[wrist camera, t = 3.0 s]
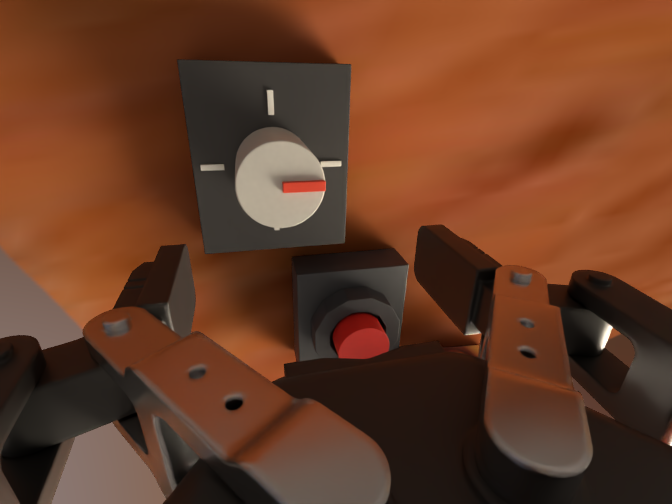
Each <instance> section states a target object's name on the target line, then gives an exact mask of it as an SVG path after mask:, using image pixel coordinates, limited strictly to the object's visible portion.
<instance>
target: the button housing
mask: <svg viewBox="0 0 672 504" xmlns="http://www.w3.org/2000/svg"><path fill="white" fill-rule="evenodd" d="M408 267H409V265H408V263H407V262H406V261H405V260H404V259H403V258H402V257H401V255H400V254H399V253H398V252H397V251H396V250H395V249H394V248H392V249H380V250H368V251H356V252H344V253H332V254H320V255H307V256H295V257H292V284H293V314H294V344H295V356H296V361H297V362H300V361H306V360H313V359H319V358H339V357H338V354H337V351H336V348H335V345H334V343H333V332H334V329H335V327H336V326H337V324H338V323H339V322H340V321H341V320H342V319H343V318H345V317H347V316H349V315H351V314H354V313H368V314H371V315H373V316H375V317H376V318H377V319H378V321H379V322H380V324H381V326H382V328H383V330H384V331H385V333H386V335H387V337H388V339H389V350H388V351H390V350H393V349H396V348H398V347H399V343H400V334H401V326H402V317H403V309H404V301H405V292H406V284H407V275H408Z"/></svg>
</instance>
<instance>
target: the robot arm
mask: <svg viewBox="0 0 672 504" xmlns="http://www.w3.org/2000/svg"><path fill="white" fill-rule="evenodd" d="M414 272H415V276H416V279H417V281H418V282H419V283H420V285H421V286H422V287H423V288H424V289H425V290H426V291H427V293H428V294H429V295H430V296H431V297H432V298H433V300H434V301H435V302H436V303H437V304H438V305H439V307H440V308H441V309H442V310H443V311H444V312H445V313H446V315H447V316H448V317H449V318H450V319H451V320H452V322H453V323H454V324H455V325H456V326H457V327H458V328H459V330H460V331H461V332H462V333H463V334H464V335H471V334H478V333H482V335H481V340H480V344H479V351H478V357H475V356H472V355H468V354H463V353H458V352H450V351H445V350H444V348H443V347H442V346H441V344H440V343H439V342H438V341H432V342H425V343H418V344H412V345H405V346H401V347H398V348H396V349H393V350H390V351H388V352H385V353H382V354H380V355H377V356H374V357H372V358H368V359H350V358H319V359H313V360H306V361H300V362H293V363H286V364H284V374H285V376H284V377H282V378H279V379H277V380H275V381H273V382H271V381H269V380H268V379H266V378H265V377H264V376H262V375H261V374H259V373H258V372H256V371H255V370H254V369H252V368H251V367H249V366H248V365H247V364H245V363H244V362H242V361H241V360H239V359H238V358H237V357H235V356H234V355H232V354H231V353H230V352H228V351H227V350H225V349H224V348H222V347H221V346H220V345H218V344H217V343H215V342H214V341H213V340H211V339H210V338H208V337H207V336H205V335H204V334H203V333H201V332H199V331H195V332H192V333H191V328H192V322H193V316H194V311H195V302H196V298H195V287H194V281H193V275H192V269H191V264H190V258H189V252H188V248H187V245H186V244H180V245H167V246H161V247H160V249H159V251H158V254H157V256H156V258H155V261H154V262H144V263H143V264H141V265H140V266H139V267H137V268H136V269H135V270H133V271H132V273H131V275H130V277H129V279H128V282H127V283H126V285H125V286H124V290H122V292H121V294H120V296H119V298H118V300H117V302H116V304H115V306H114V308H113V309H112V310H109V311H106V312H104V313H102V314H100V315H98V316H96V317H94V318H93V319H91V320H90V321H89V322H88V323H87V324H86V325H85V327H84V329H83V336H84V337H82V338H80V339H78V340H74V341H71V342H68V343H65V344H62V345H58V346H54V347H51V348H47V349H44V350H41V347H40V345H39V342H38V341H37V339H36V338H34V337H31V336H26V335H17V336H10V337H5V338H1V339H0V504H51V503H52V500H53V497H54V495H55V492H56V489H57V486H58V483H59V481H60V478H61V475H62V472H63V470H64V467H65V464H66V461H67V459H68V456H69V453H70V450H71V448H72V445H73V442H74V439H75V437H76V436H78V435H81V434H83V433H86V432H88V431H91V430H93V429H96V428H98V427H101V426H103V425H106V424H108V423H111V422H113V424H114V425H115V427H116V428H117V429H118V431H119V432H120V433H121V434H122V436H123V437H124V438H125V439H126V440H127V442H128V443H129V444H130V445H131V446H132V448H133V449H134V450H135V451H136V453H137V454H138V455H139V456H140V458H141V459H142V460H143V461H144V463H145V464H146V465H147V466H148V468H149V469H150V470H151V472H152V474H153V475H154V477H155V479H156V481H157V483H158V485H159V487H160V489H161V491H162V493H163V494H164V496H165V498H166V500H165V502H164V503H163V504H672V310H671V309H670V308H668V307H666V306H664V305H663V304H661V303H659V302H658V301H656V300H654V299H652V298H651V297H649V296H647V295H646V294H644V293H642V292H640V291H639V290H637V289H635V288H634V287H632V286H630V285H628V284H627V283H625V282H623V281H622V280H620V279H618V278H616V277H614V276H611V275H609V274H606V273H603V272H598V271H592V270H578V271H575V272H573V274H572V276H571V280H570V283H569V285H556V284H547V280H546V278H545V277H544V276H543V275H542V274H540V273H539V272H537V271H535V270H532V269H529V268H526V267H522V266H515V265H506V266H502V265H501V264H499V263H498V262H497V261H495V260H494V259H493V258H491V257H490V256H489V255H487V254H485V253H484V252H483V251H482V250H480V249H478V247H476V246H475V245H473V244H472V243H471V242H469V241H467V240H465V239H462V238H460V237H458V236H457V235H456V234H454V233H453V232H452V231H450V230H449V229H448V228H446V227H445V226H444V225H428V226H421V227H420V229H419V231H418V237H417V246H416V254H415V263H414ZM612 328H615V329H616V330H617V331H619V332H620V333H621V334H623V335H624V336H626V337H627V338H628V339H629V340H630V341H631V342H632V344H633V346H634V349H635V357H634V360H633V362H632V364H631V366H630V368H629V367H628V366H627V365H625V364H624V363H623V362H622V361H620V360H619V359H618V358H617V357H615V356H614V355H613V354H612V353H610V352H609V351H608V350H607V349H606V348H604V347H605V345H606V342H607V340H608V337H609V335H610V332H611V330H612ZM572 377H573V378H574V379H575V380H576V381H577V382H578V383H579V384H580V385H581V386H582V387H583V388H584V389H585V390H586V391H587V392H588V393H589V394H590V395H591V396H592V397H593V398H594V399H595V400H596V401H597V402H598V403H599V404H600V405H601V406H602V407H603V408H604V409H605V410H606V411H608V413H609V414H610V415H611V416H612V417H613V418H614V419H615V420H614V419H612V418H610V417H608V416H605V415H603V414H601V413H599V412H597V411H595V410H592V409H590V408H588V407H586V406H584V400H583V397H582V394H581V393H580V392H579V391H576V390H574V387H573V382H572Z"/></svg>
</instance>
